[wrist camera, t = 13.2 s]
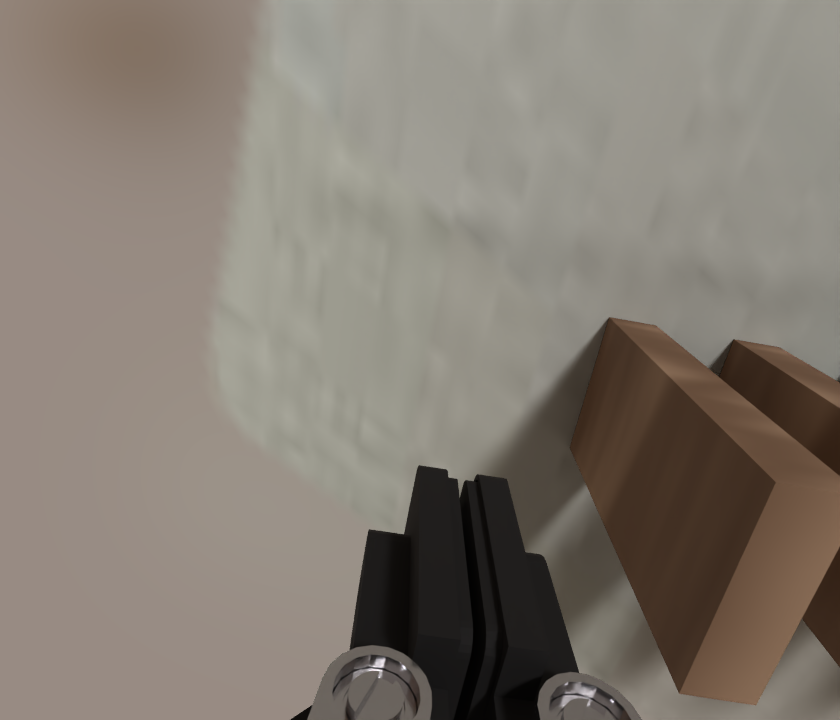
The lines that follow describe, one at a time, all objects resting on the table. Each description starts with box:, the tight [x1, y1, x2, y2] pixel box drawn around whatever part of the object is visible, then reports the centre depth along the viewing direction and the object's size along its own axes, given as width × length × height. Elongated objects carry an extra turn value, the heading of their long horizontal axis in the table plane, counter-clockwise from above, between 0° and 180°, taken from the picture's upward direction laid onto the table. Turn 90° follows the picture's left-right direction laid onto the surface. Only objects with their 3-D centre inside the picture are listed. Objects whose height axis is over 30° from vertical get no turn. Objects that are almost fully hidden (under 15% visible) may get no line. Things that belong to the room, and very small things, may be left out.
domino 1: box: [570, 317, 840, 705], centre depth 15 cm, size 2×5×10 cm, turn 170°
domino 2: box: [719, 340, 840, 667], centre depth 16 cm, size 2×5×10 cm, turn 170°
